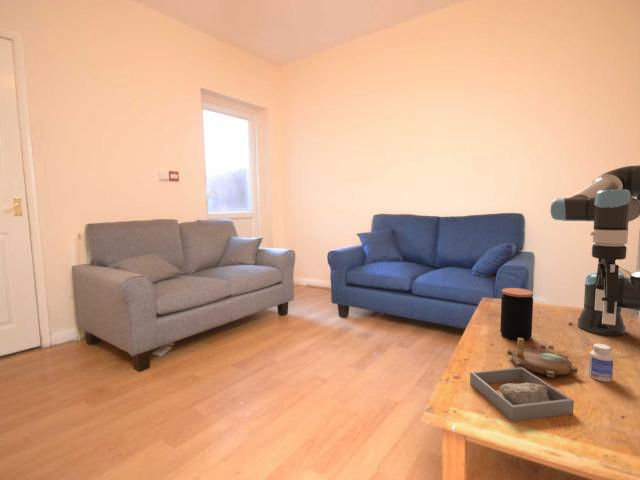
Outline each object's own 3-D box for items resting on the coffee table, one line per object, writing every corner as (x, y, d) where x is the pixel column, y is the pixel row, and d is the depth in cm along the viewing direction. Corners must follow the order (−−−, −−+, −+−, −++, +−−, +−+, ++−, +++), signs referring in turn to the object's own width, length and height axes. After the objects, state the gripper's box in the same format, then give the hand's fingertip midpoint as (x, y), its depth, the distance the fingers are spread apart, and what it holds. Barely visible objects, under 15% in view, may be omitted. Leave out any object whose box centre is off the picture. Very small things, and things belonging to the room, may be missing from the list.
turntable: (503, 347, 120) (504, 327, 119) (560, 352, 115) (561, 332, 114) (517, 373, 102) (518, 350, 101) (585, 380, 97) (587, 356, 97)
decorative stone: (536, 421, 83) (537, 401, 82) (492, 400, 92) (493, 382, 91) (559, 404, 89) (560, 385, 89) (516, 386, 98) (517, 369, 98)
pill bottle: (616, 383, 99) (618, 350, 98) (595, 381, 100) (597, 349, 99) (605, 373, 104) (607, 343, 103) (584, 372, 105) (586, 341, 104)
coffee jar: (529, 333, 137) (531, 289, 135) (533, 343, 127) (535, 295, 125) (499, 329, 141) (500, 286, 139) (500, 339, 131) (502, 293, 129)
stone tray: (521, 378, 102) (522, 367, 102) (573, 413, 85) (573, 400, 85) (470, 383, 100) (470, 372, 100) (512, 421, 83) (512, 407, 82)
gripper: (586, 239, 110) (582, 304, 112) (599, 249, 89) (594, 328, 91) (617, 240, 106) (612, 307, 108) (638, 250, 85) (631, 333, 87)
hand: (604, 317), depth 100 cm, fingers open, 13 cm apart
